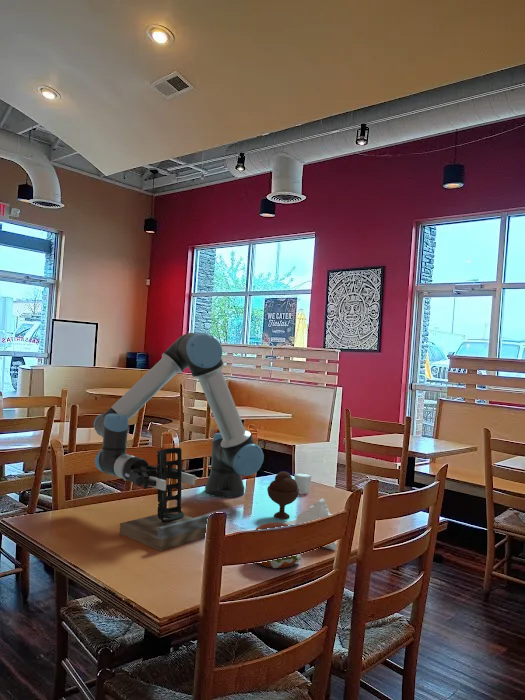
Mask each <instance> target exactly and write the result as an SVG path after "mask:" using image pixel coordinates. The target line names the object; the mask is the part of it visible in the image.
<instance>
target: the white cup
mask: <svg viewBox="0 0 525 700" xmlns="http://www.w3.org/2000/svg"><path fill="white" fill-rule="evenodd" d="M293 475H294V478H293V479H294V480H295V481H296V483H297V485H298V489H299V493H298V495H307V494H309V493H310V488H311V480H312V474H309V473H303V472H297V473H296V472H295V473H294V474H293Z"/></svg>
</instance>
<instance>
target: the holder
mask: <svg viewBox="0 0 525 700" xmlns="http://www.w3.org/2000/svg"><path fill="white" fill-rule="evenodd" d="M182 451H183V450H182V448H181V447H170V448H169V447H168V448H164V449H159V450H156V453H157V455H156V457H157V461H156V462H157V463H156V467H157V472H156V476H157V478H159V479H162V480H166V490H165V491H163V490H160V489H157V488H156V489H157V490H156V491H157V492H156V493H157V502H158V503H157V514H158V518H159V519H160V520H161V521H162V523H169V522H172V521H176V520H179V519H181V518H183V517H184V515H185V513H184V512H183V511H182V482H181V470H183V468H182V466H183V465H182V461H183V460H182ZM170 454H176V455H177V459H175V460H167V455H170ZM173 466H176V467H177V468H176V469H177V472H172V468H173ZM166 467H168V472H166ZM167 477H177V479H176V480H177V482H176V483H171V484H168V483H167V481H168V478H167ZM173 489H177V494H174V495H173ZM169 501H176V506H173V507H168V506H167V505H168V502H169ZM167 507H168V508H167ZM171 512H178V514H167V513H171ZM163 518H169V519H163Z"/></svg>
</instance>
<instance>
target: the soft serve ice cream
mask: <svg viewBox="0 0 525 700" xmlns="http://www.w3.org/2000/svg"><path fill="white" fill-rule="evenodd" d="M329 509H330V508H329V507H328V505H327V504H326V500H325V498H323V497H322V498H320V499H319V500H318V501H317V502H316V503H314V504H311V506H309V507H308V510H304V511H302V512H301V513H299V514H298V515H297V517H296V519H294V520H288V521H285V522H283V524H286V525H293V524H299V523H304V522H308V521H312V520H316V519H319V518H324V517H327V516H330V515H333V514H331V512H330V511H329ZM322 548H323V549H327V550H331V551H334V552H335V551H336V548H337V541H336V542H334V543H332V544H329V545H327V546H325V547H322Z"/></svg>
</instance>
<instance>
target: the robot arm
mask: <svg viewBox="0 0 525 700" xmlns="http://www.w3.org/2000/svg"><path fill="white" fill-rule="evenodd" d="M222 356H223V346H222V344H221V342H220V341H219V339H218V338H217V337H215V336H214V335H212V334H210V333H206V332H188V333H184V334H183V335H181V336H179V337H178V338H177V339H176V340H175V341H174V342H173V343H172V344H171V345H170V346H169V347H168V348H167V349H166V350H165V351H164V352H163V353H162V354H161V359H160V360H159V361H158V362H156V363H155V364H154V366H153V367H151V368H150V369H149V370H148V371H147V372H146V373H145V374H144V375H143V376H142V377H141V378H139V380H138V381H136V383H135V384H134V385H132V386H131V388H129V389H128V390H127V391H126V392H125V393H124V394H123V395H122V396H121V397H120V398H119V399H118V400H117V401H116V402H115V403H114V404H113V405H112V406H111V407H110V408H109V409H107V410H106V411H105V412H104V413H101V414H98V415H97V416H96V417H95V418H94V421H93V427H94V430H95V432H96V434H97V435H98V436H100V437H102V449H101V450H99V451H98V452H97V454H96V456H95V458H94V465H95V467H96V469H98V471H100V472H102V473H104V474H105V475H106V474H107V475H111V476H114V477H117V478H120V479H123V481H124V482H125V481H129V482H131V483H133V484H134V485H135V486H137V487H141V486H143V487H142V488H143V489H149V488H148V487H152V488H155V489H160V490H163V491H165V490H166V480H162V479H159V478H157V466H154V465H151V464H150V465H149V463H148V461H147V460H146V459H144V458H142V457H139V456H134V455H131V454H128V453H127V444H128V443H127V442H128V430H129V421H130V419H132V418H133V417H134V415H136V414H137V413H138V411H139V412H140V409H142V408H143V407H144V406H145V405H146V403H148V402H149V401H150V400H151V399H152V398H153V397H154V396H155V395H156V394H157V393H158V392H159V391H160V390H161V389H162V388H163V387H164V386H166V385H167V384H168V382H169V381H170V380H171V379H172V378H174V377H175V376H176V375H177V374H181V373H183V372H184V371H185V369H187V368H189V371H190V374H191V376H192V378H195V379H197V380H198V381H199V383H200V387H201V389H202V391H203V393H204V395H205V399H206V401H207V403H208V406H209V408H210V411H211V413H212V416H213V418H214V421H215V423H216V425H217V428H218V430H219V432H215V433H214V434H213V438H212V440H211V442H212V444H211V445H212V446H211V447H212V448H211V463H210V473H209V476H208V478H207V480H206V481H207V482H206V483H205V485H204V493H205V494H207V495H209V496H212V497H217V498H237V497H238V498H239V497H242V496H243V495H244V494H245V486H244V482H243V476H245V477H247V476H252V475H254V474H255V473H257V472H258V471H260V469H261V467H262V464H263V463H264V460H265V459H264V457H265V455H264V452H263V449H262V448H261V447H260V446H259V445H258V444H257V443H255V440H254V438H253V435H252V433H251V431H249V430H246V428H245V426H244V424H243V422H242V421H243V420H242V419H241V417H240V414H239V411H238V409H237V406H236V404H235V401H234V398H233V396H232V393H231V391H230V389H229V386H228V384H227V380H226V379H225V375H224V373H223V371H222V369H223V367H224V362H223V359H222ZM166 472H168V466H166ZM172 472H177V468H174V467H172ZM167 479H170V480H178V479H177V477H167ZM181 483H185V484H187V485H191V486H195V483H196V475H195V474H190V473H187V472H186V470H185V469H182V470H181Z"/></svg>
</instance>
